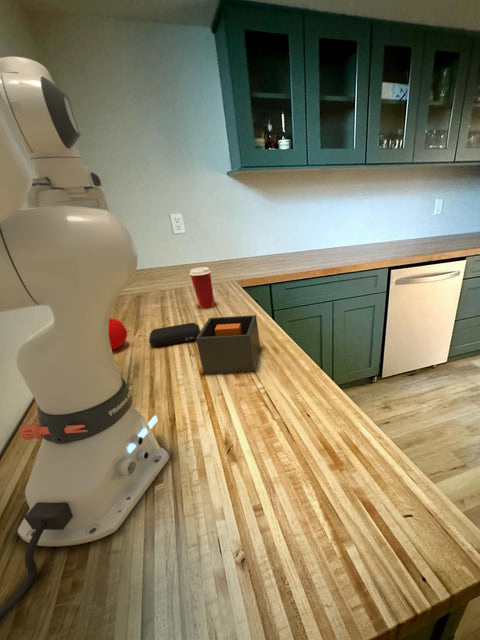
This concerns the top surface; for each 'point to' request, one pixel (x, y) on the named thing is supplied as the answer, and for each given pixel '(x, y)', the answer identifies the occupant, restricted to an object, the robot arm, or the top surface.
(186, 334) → the carrying case
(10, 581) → the top surface
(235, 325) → the block
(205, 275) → the paper cup
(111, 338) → the tomato
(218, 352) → the trash bin
